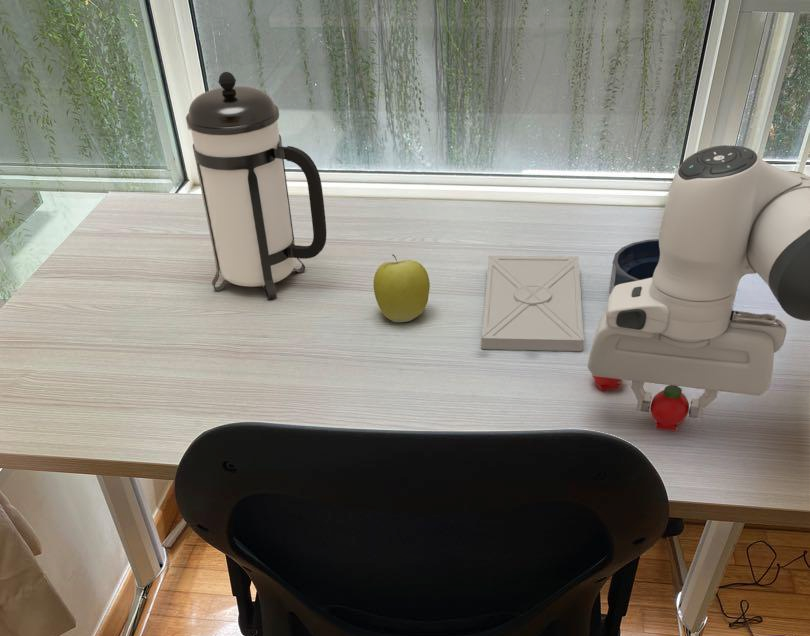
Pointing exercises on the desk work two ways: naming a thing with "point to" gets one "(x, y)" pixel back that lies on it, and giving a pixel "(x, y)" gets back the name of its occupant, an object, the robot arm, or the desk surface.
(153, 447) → the desk surface
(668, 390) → the toy tomato
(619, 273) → the bowl
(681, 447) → the desk surface
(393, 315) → the apple
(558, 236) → the desk surface
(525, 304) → the envelope
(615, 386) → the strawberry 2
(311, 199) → the coffee press
